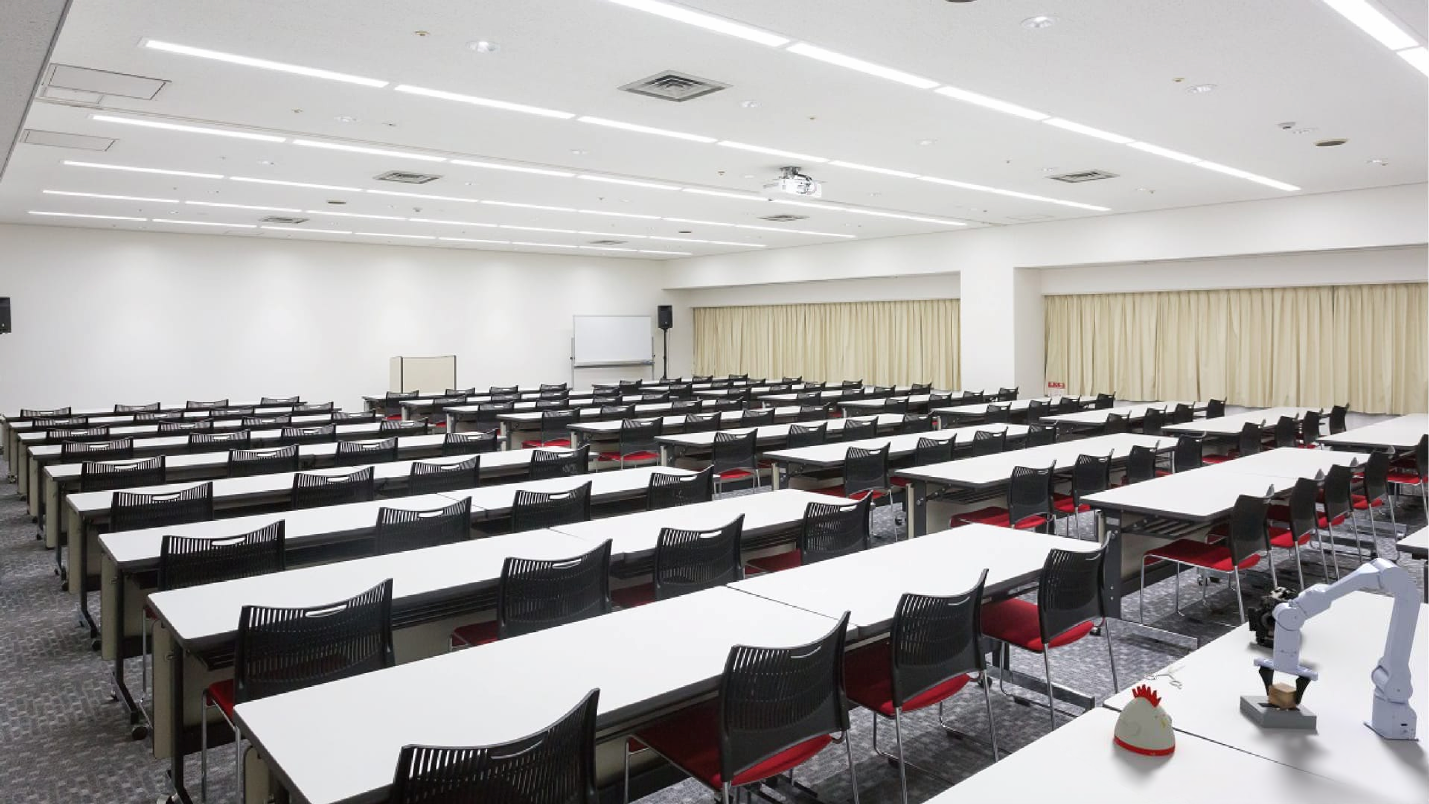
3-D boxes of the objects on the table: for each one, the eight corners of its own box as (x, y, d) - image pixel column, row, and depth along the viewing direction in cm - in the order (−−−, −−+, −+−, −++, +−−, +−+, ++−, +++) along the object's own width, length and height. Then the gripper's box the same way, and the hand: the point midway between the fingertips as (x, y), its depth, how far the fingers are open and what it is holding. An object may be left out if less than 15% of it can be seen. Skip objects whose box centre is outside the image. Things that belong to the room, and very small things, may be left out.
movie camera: (1305, 656, 281) (1306, 600, 280) (1241, 645, 293) (1241, 591, 293) (1328, 634, 303) (1328, 583, 302) (1267, 625, 315) (1267, 575, 315)
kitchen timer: (1147, 760, 219) (1149, 701, 217) (1102, 736, 231) (1103, 680, 230) (1187, 749, 224) (1190, 690, 223) (1141, 726, 237) (1143, 671, 235)
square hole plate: (1316, 728, 234) (1316, 715, 234) (1263, 727, 235) (1263, 714, 235) (1290, 708, 246) (1290, 696, 246) (1239, 707, 247) (1240, 695, 247)
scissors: (1141, 678, 266) (1159, 658, 282) (1141, 681, 267) (1159, 660, 282) (1180, 688, 260) (1197, 666, 275) (1180, 690, 260) (1197, 669, 275)
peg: (1298, 717, 239) (1299, 689, 239) (1285, 720, 237) (1287, 692, 237) (1279, 709, 244) (1281, 682, 243) (1267, 713, 242) (1268, 685, 241)
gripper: (1322, 653, 236) (1320, 703, 237) (1261, 638, 247) (1258, 686, 248) (1314, 660, 231) (1311, 711, 233) (1251, 644, 242) (1249, 693, 244)
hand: (1283, 699), depth 240 cm, fingers closed on peg, 6 cm apart
